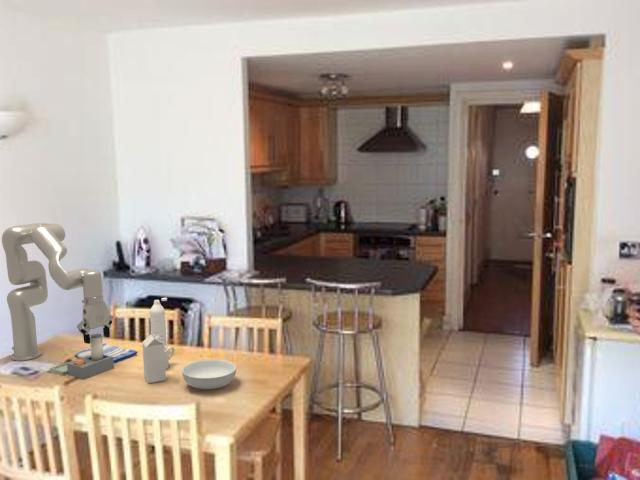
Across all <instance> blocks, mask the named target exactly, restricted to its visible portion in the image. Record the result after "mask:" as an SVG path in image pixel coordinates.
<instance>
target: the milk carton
mask: <svg viewBox="0 0 640 480" xmlns="http://www.w3.org/2000/svg"><path fill="white" fill-rule="evenodd" d="M161 339H162V338H161V337H159V336H158V335H157V336H156V337H155V335H154V334H153V333H152V332H151V331H150V334H149V335H148V336H147V337H146V338H145V339H144V340H143V341H142V356H143V377H144V379H145V381H146V383H147V384H152V383H157V382H158V383H159V382H164V381H166V380H167V375H166V374H167V373H166V370H165V351H164V344H163V343H162V341H161Z"/></svg>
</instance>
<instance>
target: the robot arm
mask: <svg viewBox="0 0 640 480" xmlns="http://www.w3.org/2000/svg"><path fill="white" fill-rule="evenodd" d="M65 238H66V231H65V229H64V228H63V227H62V226H61V225H60V224H58V223H48V222H47V223H43V222H42V223H40V222H38V223H37V222H36V223H30V224H19V225H14V226H11V227H8V228H7V229H5V230H4V232H3V233H2V235H1V244H2V247H3V250H4V254H5V261H6V270H7V277H8V281H9V282H10V284H11V285H13V286H20V285H24V286H21V287H17V288H14V289H12V290H10V291H9V293H8V294H7V295H6V302H7V306H8V310H9V313H10V320H11V329H12V332H11V333H12V341H13V346H12V347H11V350H12V351H13V353H12V354H11V355H10V360H12V361H15V360H16V361H17V362H18V361H19V362H20V361H21V362H22V361H29V360H33V359H37V358H39V357H41V356H42V355H43V354H42V353H43V352H42V350H40V349H38V337H37V336H38V335H37V326H36V325H37V323H36V317H35V314H34V312H33V311H32V310H31V309H30V308H32V307H35V306H39V305H42V304H44V303H45V302H46V301H47V300H48V297H49V296H48V295H49V292H48V291H49V290H48V282H47V272H46V269H45V267H44V265H43V263H41V262H40V261H39V260H30V261H29V259H28V252H27V250H26V249H25V247H23V245H30V244H35V246H36V247H37V248H38V249H39V250H40V251H41V253H42V254H43V255H44V256H45V257H46V258H47V260H48V266H47V267H48V272H49V276H50V277H51V279H52V280H53V281H54V283H56V285H57V286H58V287H60V288H61V289H62V290H65V291H71V290H74V289H78V288H81V287H82V290H83V291H82V292H83V293H82V294H83V299H82V300H81V303H82V304H83V305H82V320H81V321H80V322H79V323H78V324H77V325H76V327H77V329H78V331H79V332H80V333H81V334H82V335H83V336H82V337H83V342H84V343H85V344H88V345H89V344H90V337H91V335H90V331H91V330H95V329H98V328H101V327H103V328H102V330H103V331H102V332H103V337H104V338H110V337H111V331H110V328H111V327H112V326H111V325H112V324H113V320H114V315H111V314H109V310H108V306H107V305H108V304H107V301H104V291H103V278H102V272H101V270H98V269H93V270H91V269H88V268H79V269H74V270H68V271H66V270H65V269H64V267H62V266H61V264H60V261H62V260H63V259H64V258H65V256H66V255H67V253H68V249H67V247H66V246H65V244H64V243H63V241H64V240H65ZM25 284H29V285H26V286H25Z"/></svg>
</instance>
